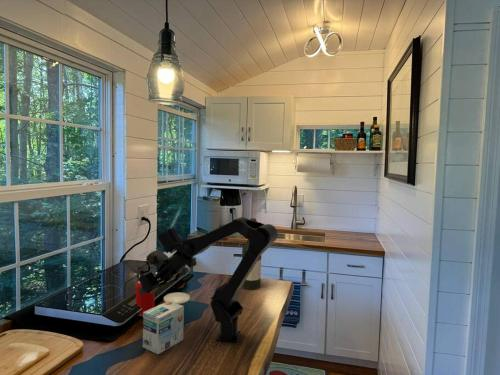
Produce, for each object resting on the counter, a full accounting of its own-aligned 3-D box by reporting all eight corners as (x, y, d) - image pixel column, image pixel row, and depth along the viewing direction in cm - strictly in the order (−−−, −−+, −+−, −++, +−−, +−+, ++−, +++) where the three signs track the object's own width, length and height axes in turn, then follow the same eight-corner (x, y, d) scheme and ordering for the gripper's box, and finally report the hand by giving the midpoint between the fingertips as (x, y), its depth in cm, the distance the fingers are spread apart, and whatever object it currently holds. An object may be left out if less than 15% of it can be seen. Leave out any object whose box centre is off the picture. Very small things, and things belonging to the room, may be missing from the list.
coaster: (184, 305, 132) (184, 303, 132) (159, 302, 134) (159, 301, 134) (193, 295, 142) (193, 293, 142) (169, 292, 144) (169, 291, 144)
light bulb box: (158, 355, 99) (158, 318, 98) (141, 347, 103) (141, 312, 102) (184, 339, 108) (185, 305, 107) (168, 333, 112) (168, 300, 111)
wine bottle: (260, 290, 150) (262, 220, 147) (240, 289, 150) (242, 219, 147) (260, 283, 158) (262, 217, 155) (241, 282, 158) (243, 216, 155)
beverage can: (148, 308, 129) (148, 276, 128) (157, 314, 124) (157, 281, 123) (132, 313, 124) (132, 280, 123) (141, 319, 120) (141, 285, 119)
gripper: (179, 238, 127) (154, 263, 133) (143, 250, 111) (116, 278, 116) (197, 263, 125) (171, 288, 131) (162, 279, 108) (134, 306, 114)
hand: (149, 289), depth 123 cm, fingers open, 9 cm apart
